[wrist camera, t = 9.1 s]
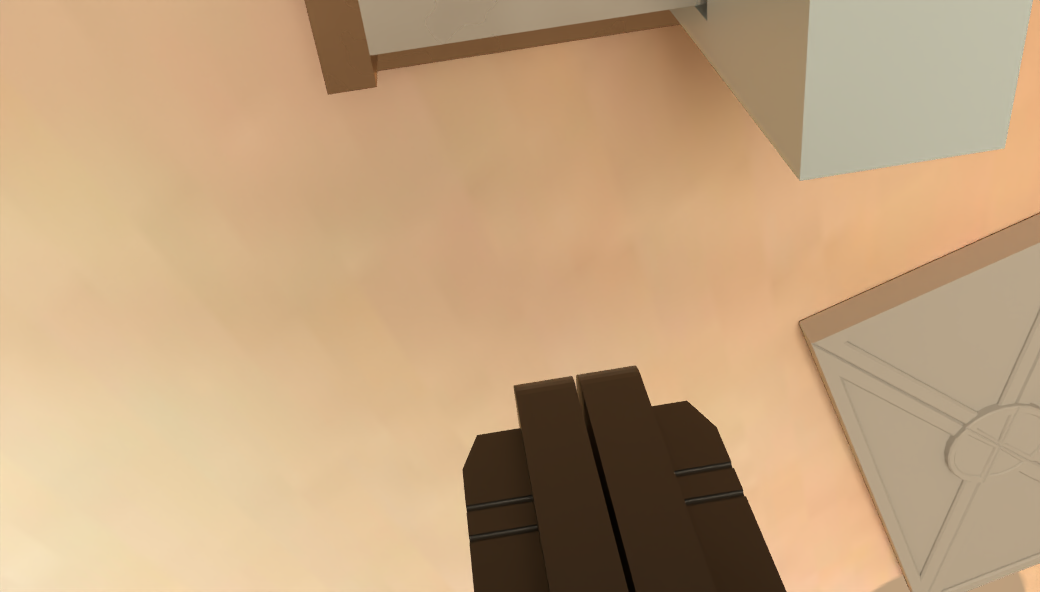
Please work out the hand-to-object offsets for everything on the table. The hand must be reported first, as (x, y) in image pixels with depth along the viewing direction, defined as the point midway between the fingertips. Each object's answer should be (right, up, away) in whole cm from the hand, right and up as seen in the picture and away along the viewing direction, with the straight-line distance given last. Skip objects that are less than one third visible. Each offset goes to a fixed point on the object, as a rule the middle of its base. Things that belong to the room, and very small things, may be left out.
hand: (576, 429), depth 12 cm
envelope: (+24, -5, +40) cm, 47 cm away
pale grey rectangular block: (+7, +15, +21) cm, 26 cm away
